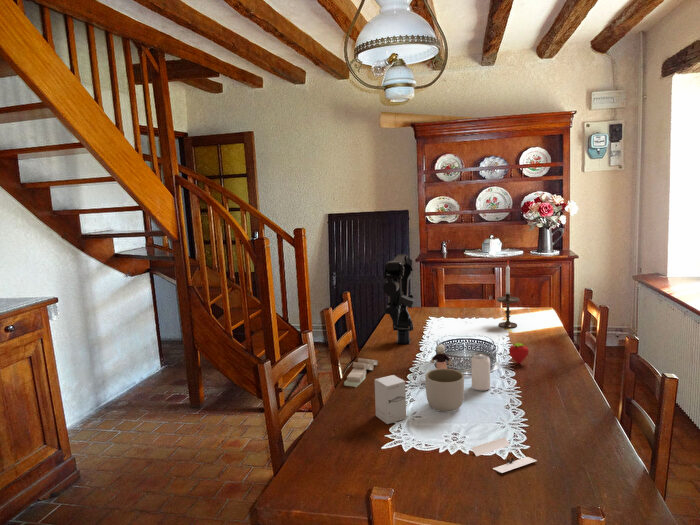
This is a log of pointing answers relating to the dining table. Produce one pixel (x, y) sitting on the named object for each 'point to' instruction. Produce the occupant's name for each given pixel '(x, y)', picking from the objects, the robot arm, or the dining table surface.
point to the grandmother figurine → (441, 358)
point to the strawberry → (518, 352)
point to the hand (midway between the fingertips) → (396, 324)
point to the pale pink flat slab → (497, 445)
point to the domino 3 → (367, 361)
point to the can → (480, 372)
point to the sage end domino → (353, 383)
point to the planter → (444, 389)
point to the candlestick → (507, 301)
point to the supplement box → (390, 399)
